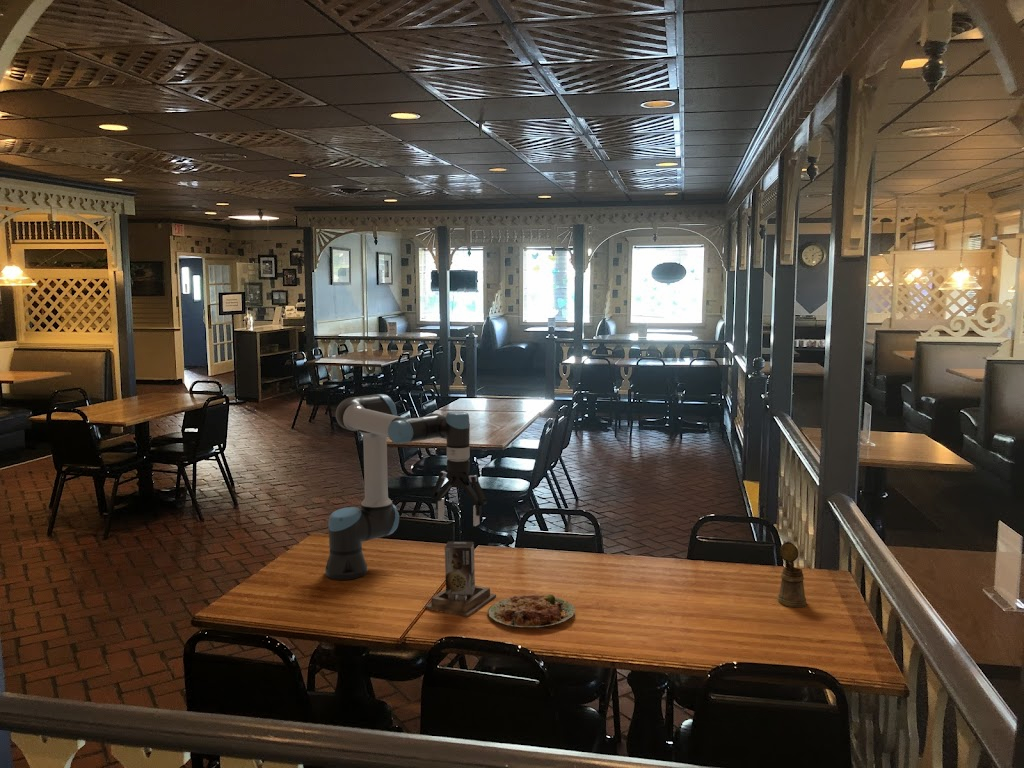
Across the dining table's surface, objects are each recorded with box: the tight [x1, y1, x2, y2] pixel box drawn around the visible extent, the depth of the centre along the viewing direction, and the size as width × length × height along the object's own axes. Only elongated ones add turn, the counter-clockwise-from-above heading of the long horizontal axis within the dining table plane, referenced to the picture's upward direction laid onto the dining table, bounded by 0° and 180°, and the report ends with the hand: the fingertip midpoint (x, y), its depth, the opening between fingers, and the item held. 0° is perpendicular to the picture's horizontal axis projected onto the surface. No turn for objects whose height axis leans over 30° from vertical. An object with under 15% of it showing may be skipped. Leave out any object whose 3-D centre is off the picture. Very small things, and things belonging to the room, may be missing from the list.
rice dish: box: [487, 593, 576, 628], centre depth 252 cm, size 28×28×5 cm
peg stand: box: [424, 584, 497, 618], centre depth 262 cm, size 16×19×4 cm
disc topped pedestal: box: [777, 540, 808, 608], centre depth 262 cm, size 9×14×18 cm, turn 172°
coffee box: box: [444, 541, 476, 595], centre depth 261 cm, size 9×6×16 cm
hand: (458, 522), depth 261 cm, fingers open, 13 cm apart
